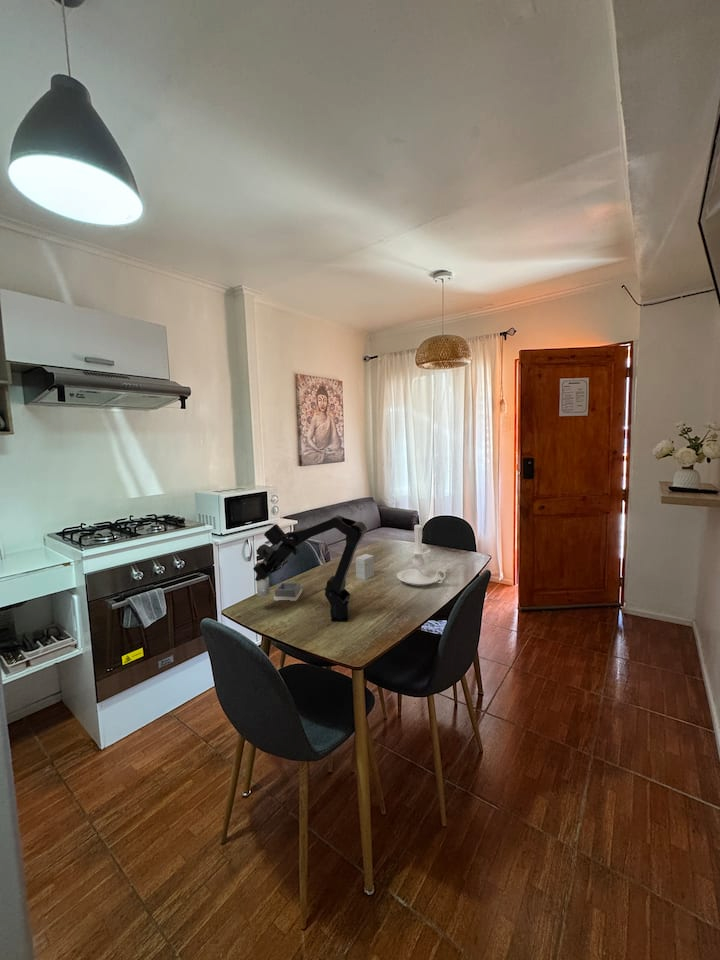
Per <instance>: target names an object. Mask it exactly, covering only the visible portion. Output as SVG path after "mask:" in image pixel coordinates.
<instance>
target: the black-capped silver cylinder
mask: <svg viewBox="0 0 720 960" xmlns="http://www.w3.org/2000/svg"><path fill="white" fill-rule="evenodd" d="M259 563H260V562H257V563H255V565H254V567H255V566H256V565H257V564H259ZM261 563H264V564H265V565H266V563H267V562H266V561H265V562H264V561H263V562H261ZM266 566H267V565H266ZM256 576H257V573H256V572H255V577H256ZM269 577H270V576H269ZM269 577H268V578H266V579H265V580H263V579H262V580H259V581H256V580H255V582H256V594H257V596H258V597H266V596H269V595H270V593H271V592H270V579H269Z"/></svg>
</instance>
